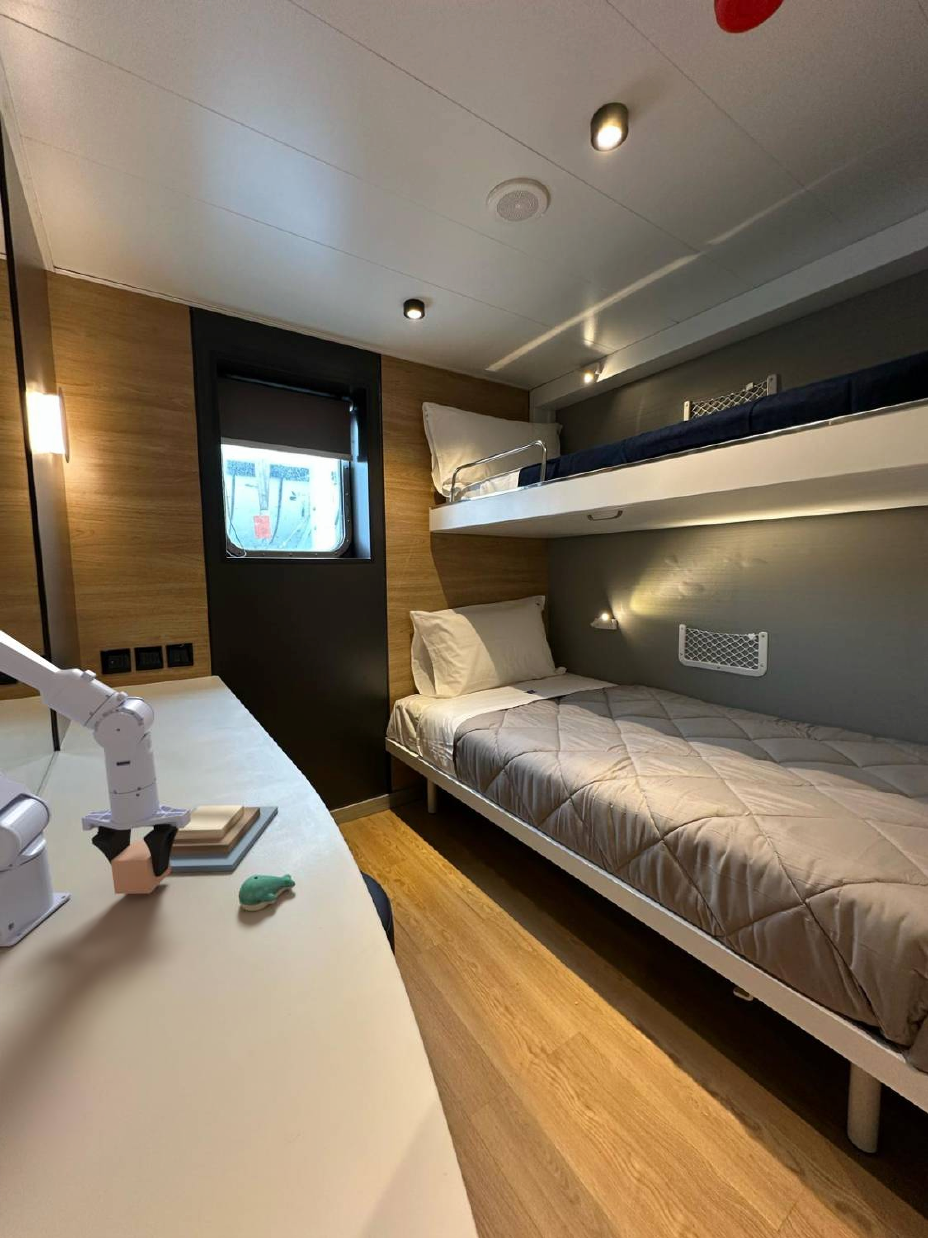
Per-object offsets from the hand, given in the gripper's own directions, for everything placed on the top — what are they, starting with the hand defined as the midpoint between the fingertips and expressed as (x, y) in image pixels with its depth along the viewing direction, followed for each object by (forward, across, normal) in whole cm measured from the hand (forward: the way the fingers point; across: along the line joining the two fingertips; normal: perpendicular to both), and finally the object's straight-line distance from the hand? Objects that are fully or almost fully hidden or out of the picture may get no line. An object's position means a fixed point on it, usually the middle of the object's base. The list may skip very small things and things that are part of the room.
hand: (143, 872), depth 71 cm
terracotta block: (+2, 0, 0) cm, 2 cm away
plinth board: (+3, -3, -13) cm, 14 cm away
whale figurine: (+3, -19, +2) cm, 19 cm away
